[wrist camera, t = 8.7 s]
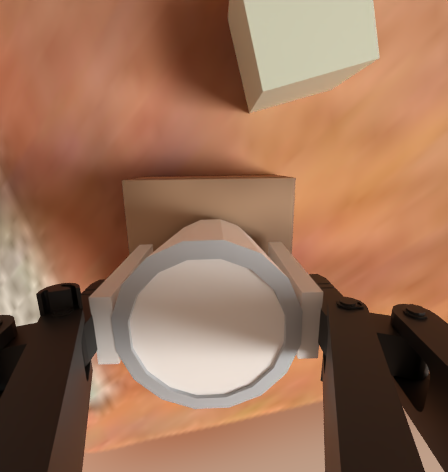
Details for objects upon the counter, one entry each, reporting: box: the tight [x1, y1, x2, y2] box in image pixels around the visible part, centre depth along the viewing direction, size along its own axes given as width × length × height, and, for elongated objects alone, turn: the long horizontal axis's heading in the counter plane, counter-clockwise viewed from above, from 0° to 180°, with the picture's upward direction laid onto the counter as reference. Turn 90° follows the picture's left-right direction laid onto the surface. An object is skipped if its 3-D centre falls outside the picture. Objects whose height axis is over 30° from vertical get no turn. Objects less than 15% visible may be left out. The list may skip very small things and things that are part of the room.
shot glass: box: [111, 219, 303, 409], centre depth 13 cm, size 7×7×7 cm
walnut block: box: [122, 175, 296, 256], centre depth 20 cm, size 10×10×5 cm
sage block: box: [228, 0, 380, 113], centre depth 16 cm, size 6×6×6 cm
